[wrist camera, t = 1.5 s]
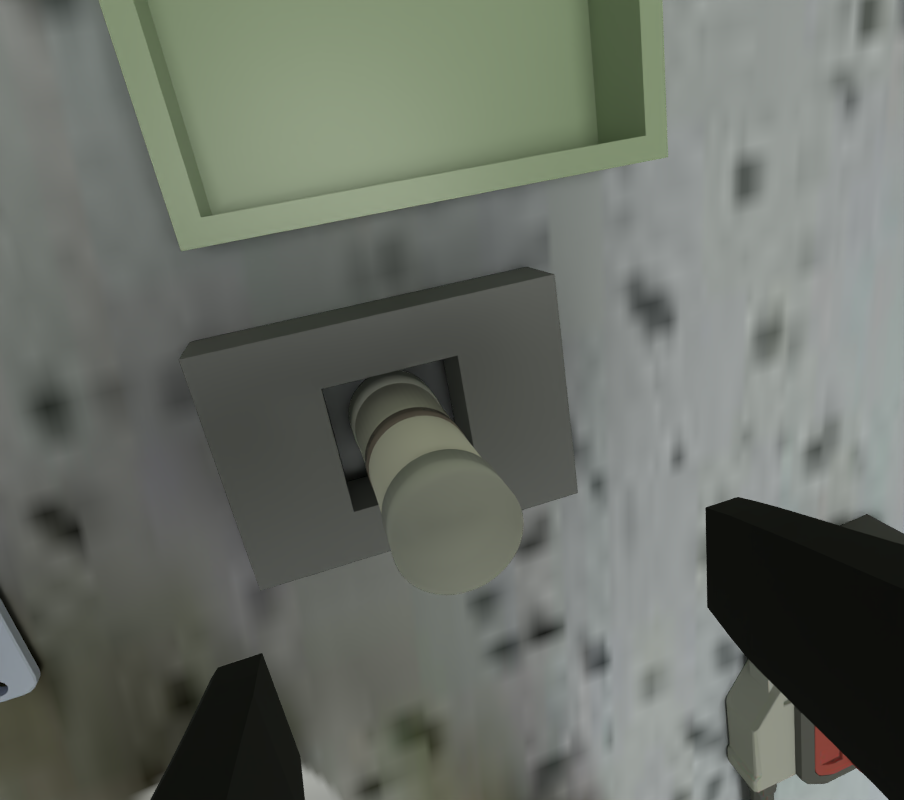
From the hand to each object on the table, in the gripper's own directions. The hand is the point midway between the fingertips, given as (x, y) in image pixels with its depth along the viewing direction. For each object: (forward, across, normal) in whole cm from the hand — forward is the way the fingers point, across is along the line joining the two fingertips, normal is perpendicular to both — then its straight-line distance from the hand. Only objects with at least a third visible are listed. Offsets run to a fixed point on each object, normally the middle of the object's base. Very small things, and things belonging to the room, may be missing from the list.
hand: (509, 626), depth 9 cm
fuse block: (+10, 0, 0) cm, 10 cm away
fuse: (+10, 0, 0) cm, 10 cm away
